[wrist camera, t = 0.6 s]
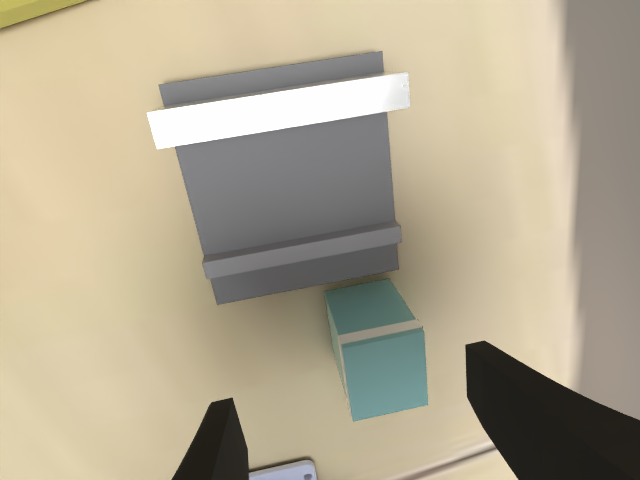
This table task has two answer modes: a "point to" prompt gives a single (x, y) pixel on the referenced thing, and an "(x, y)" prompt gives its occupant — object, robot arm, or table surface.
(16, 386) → the table surface
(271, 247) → the grey stand with lip
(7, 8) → the plastic component
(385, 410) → the block
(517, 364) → the robot arm
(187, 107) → the rail
